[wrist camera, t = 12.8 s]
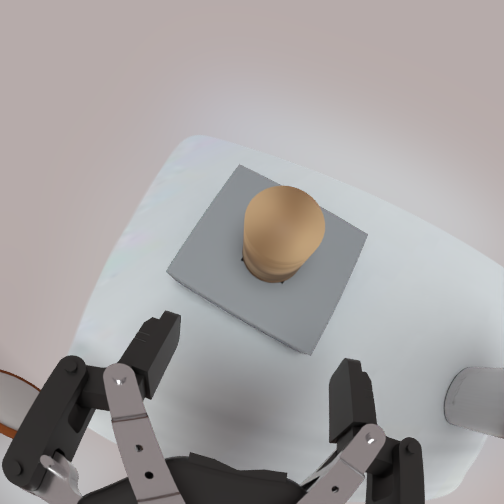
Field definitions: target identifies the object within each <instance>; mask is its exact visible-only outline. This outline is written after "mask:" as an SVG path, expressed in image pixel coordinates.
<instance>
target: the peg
mask: <svg viewBox="0 0 504 504" xmlns="http://www.w3.org/2000/svg"><path fill="white" fill-rule="evenodd" d="M324 233H325V220H324V216H323V213H322V210H321V208H320V207H319V205H318V204H317V202H316V201H315V200H314V199H313V198H312V197H311V196H310V195H308V194H307V193H305V192H304V191H302V190H300V189H297V188H294V187H290V186H274V187H270V188H267V189H265V190H263V191H261V192H260V193H258V194H257V195H256V196H255V197H254V198H253V199H252V200H251V201H250V203H249V205H248V206H247V209H246V212H245V218H244V238H243V250H242V255H243V261H244V264H245V266H246V268H247V269H248V271H249V272H250V273H251V274H252V275H253V276H254V277H256V278H257V279H259V280H261V281H264V282H268V283H279V282H283V281H286V280H288V279H289V278H291V277H292V276H293V275H294V274H295V273H296V272H297V271H298V270H299V268H300V267H301V266H302V265H303V264H304V263H305V261H306V260H307V259H308V258H309V257H310V256H311V255H312V254H313V252H314V251H315V250H316V249H317V248H318V247H319V245H320V243H321V242H322V239H323V237H324Z"/></svg>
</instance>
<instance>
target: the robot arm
mask: <svg viewBox="0 0 504 504" xmlns="http://www.w3.org/2000/svg"><path fill="white" fill-rule="evenodd" d="M180 323H181V315H178V314H175V313H172V312H169V311H165V312H164V313H163V314H162V316H161V318H160V319H156V318H153V317H152V318H151V319H149V320H147V321H146V322H144V323H143V325H142V326H141V328H140V329H139V332H137V334H136V336H135V338H134V339H133V340H132V342H131V343H130V345H129V346H128V348H127V349H126V351H125V352H124V354H123V356H122V357H121V359H120V360H119V361H118V362H117V363H116V364H112V365H110V366H108V367H107V368H100V367H94V366H88V365H86V364H85V362H84V361H83V360H82V359H81V358H80V357H77V356H73V355H71V356H66V357H64V358H63V359H61V360H60V362H59V363H58V364H57V366H56V368H55V369H54V370H53V372H52V374H51V375H50V377H49V378H48V380H47V382H46V383H45V384H44V386H43V388H42V389H41V391H40V393H39V394H38V396H37V397H36V399H35V401H34V402H33V404H32V406H31V408H30V409H29V411H28V413H27V414H26V416H25V418H24V420H23V422H22V423H21V425H20V427H19V429H18V431H17V433H16V435H15V436H14V438H13V440H12V442H11V444H10V446H9V448H8V450H7V453H6V454H5V457H4V459H3V462H2V468H3V472H4V474H5V476H6V477H7V479H8V480H9V481H10V482H12V483H13V484H15V485H17V486H19V487H20V488H22V489H23V490H25V491H27V492H29V493H31V494H33V495H36V496H38V497H40V498H42V499H43V500H45V501H46V502H48V503H49V504H345V503H346V502H347V500H348V499H349V498H350V497H351V496H352V494H353V493H354V492H355V491H356V489H357V488H358V487H359V485H360V484H361V483H362V481H363V480H364V478H365V476H364V473H365V472H367V489H366V504H425V492H424V472H423V459H422V449H421V445H420V443H419V442H418V441H417V440H416V439H414V438H411V437H408V438H405V439H403V440H402V441H398V440H395V439H392V438H389V437H387V436H385V433H384V431H383V429H382V428H381V427H380V426H378V425H377V420H376V412H375V404H374V399H373V391H372V383H371V380H370V378H369V376H368V374H367V373H366V372H362V368H361V363H360V361H359V360H353V359H348V358H345V359H343V361H342V362H341V364H340V365H339V367H338V368H337V370H336V371H335V372H334V374H333V375H332V377H331V379H330V383H329V443H337V449H335V450H334V451H333V453H332V454H331V455H330V456H329V457H328V458H327V459H326V460H325V461H324V462H323V463H322V464H321V466H320V467H319V468H318V469H317V470H316V471H315V472H314V473H313V474H312V475H310V476H309V477H308V478H307V479H305V480H304V481H303V482H302V483H301V484H300V485H299V484H297V483H296V482H294V481H292V480H290V479H288V478H287V473H284V472H276V471H270V470H236V469H234V468H232V467H230V466H227V465H225V464H223V463H221V462H219V461H217V460H215V459H212V458H209V457H205V456H201V455H198V454H195V453H191V452H190V455H189V457H187V456H177V457H170V458H166V459H164V457H163V455H162V452H161V450H160V447H159V444H158V442H157V439H156V437H155V434H154V431H153V428H152V425H151V423H150V420H149V417H148V415H147V413H146V410H145V407H144V404H143V400H144V398H145V397H146V398H148V399H152V397H153V395H154V393H155V391H156V389H157V387H158V385H159V383H160V381H161V379H162V376H163V374H164V372H165V370H166V368H167V366H168V364H169V362H170V360H171V358H172V356H173V354H174V352H175V350H176V348H177V345H178V342H179V337H180ZM96 409H100V410H106V411H110V413H111V417H112V420H111V421H112V426H113V430H114V434H115V438H116V441H117V445H118V448H119V451H120V454H121V458H122V461H123V464H124V467H125V470H126V472H127V475H128V477H126V478H124V479H122V480H120V481H117V482H115V483H113V484H110V485H108V486H106V487H103V488H101V489H98V490H96V491H93V492H90V493H88V494H86V495H84V496H82V495H81V493H80V492H79V489H78V486H77V485H78V472H77V470H76V468H75V467H74V465H73V464H72V463H71V461H72V459H73V457H74V455H75V452H76V450H77V448H78V445H79V443H80V441H81V439H82V437H83V435H84V433H85V430H86V428H87V426H88V424H89V422H90V420H91V418H92V416H93V414H94V412H95V410H96ZM445 416H446V419H447V420H448V422H449V423H450V424H453V425H456V426H459V427H462V428H466V429H469V430H472V431H476V432H479V433H483V434H487V435H491V436H495V437H499V438H503V439H504V368H482V367H469V368H466V369H464V370H462V371H461V372H460V373H459V374H458V375H457V376H456V377H455V379H454V380H453V382H452V384H451V386H450V388H449V390H448V393H447V396H446V400H445Z"/></svg>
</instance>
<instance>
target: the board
mask: <svg viewBox="0 0 504 504" xmlns="http://www.w3.org/2000/svg"><path fill="white" fill-rule="evenodd" d="M274 186H282V185H280V184H278V183H276V182H274V181H272V180H270V179H268V178H266V177H264V176H262V175H260V174H258V173H256V172H254V171H252V170H250V169H248V168H246V167H244V166H242V165H240V164H239V166H238V167H237V168H236V170H235V171H234V172H233V174H232V175H231V176H230V178H229V179H228V181H227V182H226V183H225V185H224V186H223V187H222V189H221V190H220V192H219V193H218V194H217V196H216V197H215V199H214V200H213V202H212V203H211V204H210V206H209V207H208V209H207V210H206V212H205V213H204V214H203V216H202V217H201V219H200V220H199V222H198V223H197V225H196V226H195V228H194V229H193V231H192V232H191V234H190V235H189V236H188V238H187V239H186V241H185V243H184V244H183V246H182V247H181V249H180V250H179V252H178V253H177V255H176V256H175V258H174V259H173V261H172V262H171V264H170V266H169V267H168V269H167V270H166V272H167V273H168V274H169V275H170V276H172V277H173V278H174V279H175V280H176V281H178V282H179V283H181V284H182V285H184V286H186V287H187V288H189V289H190V290H192V291H194V292H195V293H197V294H198V295H200V296H202V297H203V298H205V299H207V300H208V301H210V302H212V303H213V304H215V305H217V306H218V307H220V308H222V309H223V310H225V311H227V312H228V313H230V314H232V315H233V316H235V317H237V318H239V319H240V320H242V321H244V322H246V323H247V324H249V325H251V326H253V327H254V328H256V329H258V330H260V331H262V332H263V333H265V334H267V335H269V336H271V337H272V338H274V339H276V340H278V341H280V342H282V343H284V344H285V345H287V346H289V347H291V348H293V349H295V350H297V351H299V352H301V353H304V354H308V355H311V354H312V352H313V351H314V349H315V347H316V345H317V343H318V341H319V339H320V338H321V336H322V334H323V332H324V330H325V328H326V326H327V324H328V322H329V320H330V318H331V316H332V314H333V312H334V310H335V308H336V306H337V304H338V302H339V300H340V298H341V295H342V293H343V291H344V289H345V287H346V285H347V283H348V280H349V278H350V276H351V274H352V271H353V269H354V267H355V265H356V262H357V260H358V258H359V255H360V253H361V251H362V248H363V246H364V243H365V241H366V238H367V236H368V234H366V233H365V232H363V231H361V230H360V229H358V228H356V227H355V226H353V225H351V224H350V223H348V222H346V221H345V220H343V219H341V218H339V217H338V216H336V215H334V214H333V213H331V212H329V211H327V210H326V209H324V208H322V207H320V206H319V207H320V208H321V210H322V213H323V216H324V220H325V233H324V237H323V239H322V242H321V243H320V245H319V247H318V248H317V249H316V250H315V251H314V252H313V254H312V255H311V256H310V257H309V258H308V259H307V260H306V261H305V263H304V264H303V265H302V266H301V267H300V268H299V270H298V271H297V272H296V273H295V274H294V275H293V276H292V277H291V278H289V279H288V280H286V281H283V282H281V283H280V282H279V283H268V282H264V281H261V280H259V279H257V278H256V277H254V276H253V275H252V274H251V273H250V272H249V271H248V269H247V268H246V266H245V264H244V261H243V255H242V250H243V238H244V218H245V212H246V209H247V206H248V205H249V203H250V201H251V200H252V199H253V198H254V197H255V196H256V195H257V194H258V193H260V192H261V191H263V190H265V189H267V188H270V187H274Z"/></svg>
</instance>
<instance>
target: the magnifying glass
mask: <svg viewBox="0 0 504 504" xmlns="http://www.w3.org/2000/svg"><path fill="white" fill-rule="evenodd" d="M40 391H41V390H40V389H39V388H37V387H36V386H35V385H33V384H32V383H30V382H28V381H26V380H25V379H23V378H21V377H19V376H17V375H14V374H12V373H10V372H7V371H3V370H0V433H2V434H4V435H6V436H8V437H10V438H12V439H13V438H14V436H15V435H16V433H17V431H18V429H19V427H20V425H21V423H22V422H23V420H24V418H25V416H26V414H27V413H28V411H29V409H30V408H31V406H32V404H33V402H34V401H35V399H36V397H37V396H38V394H39V393H40Z"/></svg>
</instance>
